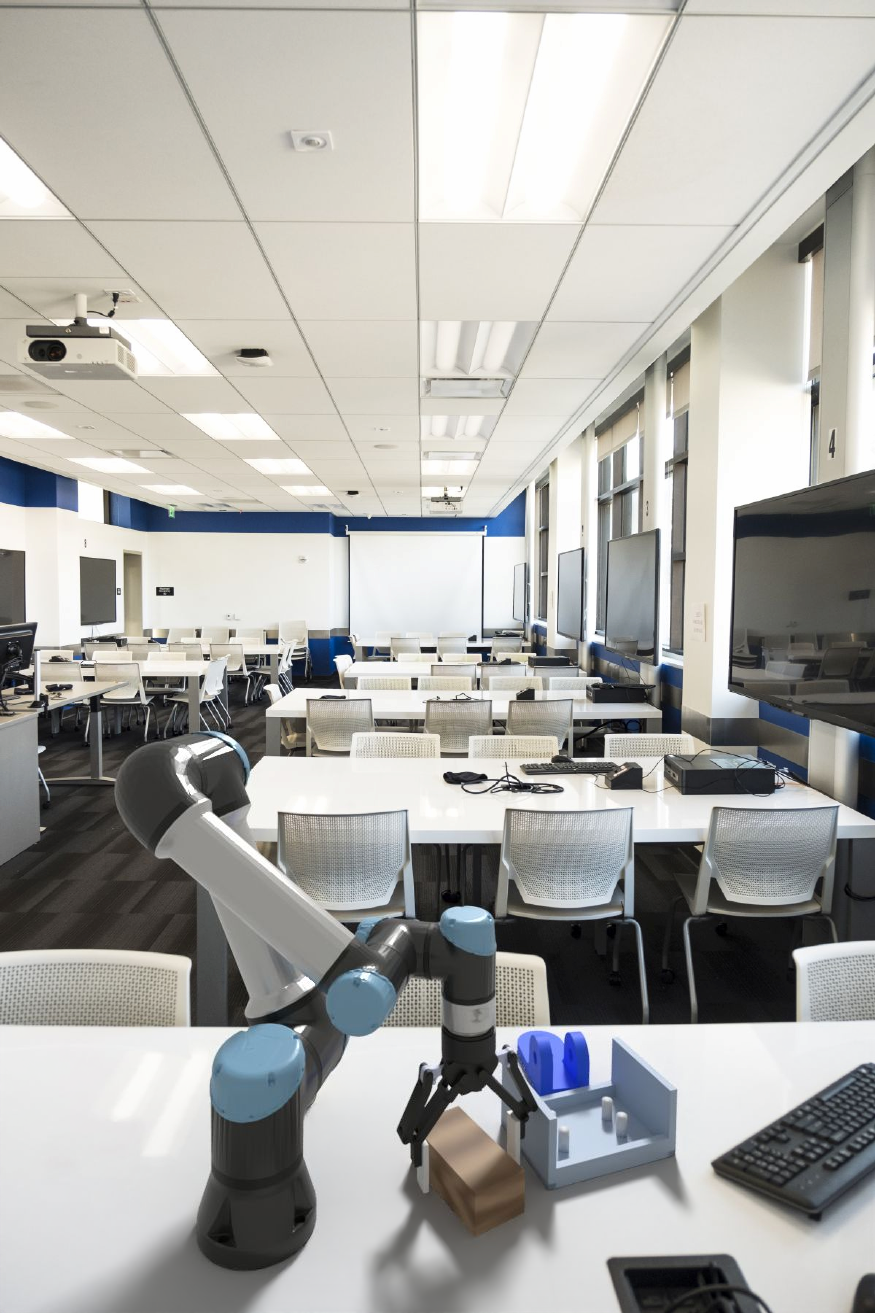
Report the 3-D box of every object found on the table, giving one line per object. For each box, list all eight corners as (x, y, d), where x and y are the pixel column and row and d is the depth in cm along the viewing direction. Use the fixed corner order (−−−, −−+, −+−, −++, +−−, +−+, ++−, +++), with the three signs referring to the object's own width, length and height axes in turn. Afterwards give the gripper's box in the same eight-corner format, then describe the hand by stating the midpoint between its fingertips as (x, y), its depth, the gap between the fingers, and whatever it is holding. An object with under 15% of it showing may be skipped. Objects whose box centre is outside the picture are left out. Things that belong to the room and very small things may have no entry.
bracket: (588, 1098, 128) (590, 1045, 128) (540, 1102, 127) (541, 1049, 126) (555, 1040, 146) (556, 993, 145) (512, 1043, 144) (513, 996, 144)
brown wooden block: (524, 1214, 103) (525, 1170, 103) (474, 1239, 99) (475, 1194, 98) (457, 1144, 116) (458, 1106, 116) (411, 1164, 112) (412, 1123, 112)
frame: (548, 1190, 107) (549, 1120, 106) (501, 1123, 121) (502, 1060, 121) (675, 1155, 114) (677, 1089, 114) (616, 1095, 129) (618, 1036, 128)
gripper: (389, 1056, 99) (391, 1217, 99) (562, 1019, 107) (561, 1168, 108) (373, 1027, 106) (374, 1178, 106) (536, 995, 114) (536, 1135, 115)
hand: (469, 1173), depth 107 cm, fingers open, 13 cm apart
